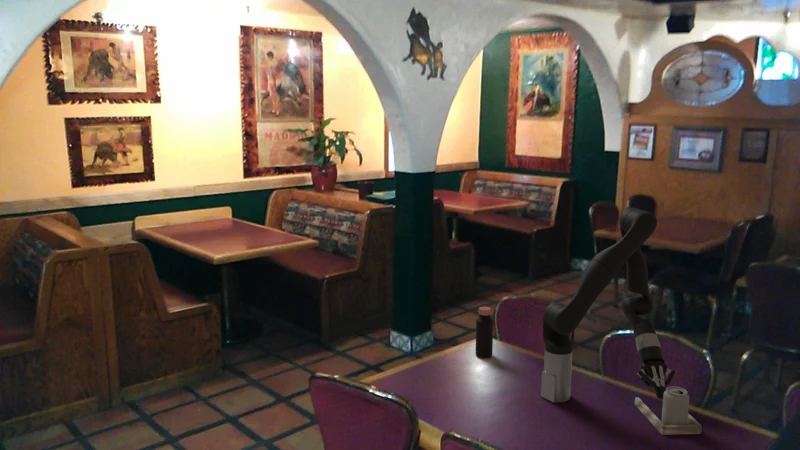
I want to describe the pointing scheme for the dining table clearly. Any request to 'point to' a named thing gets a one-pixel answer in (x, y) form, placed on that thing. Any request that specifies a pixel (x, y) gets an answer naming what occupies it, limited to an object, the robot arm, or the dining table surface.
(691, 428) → the wooden frame
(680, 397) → the can
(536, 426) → the dining table surface
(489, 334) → the bottle
